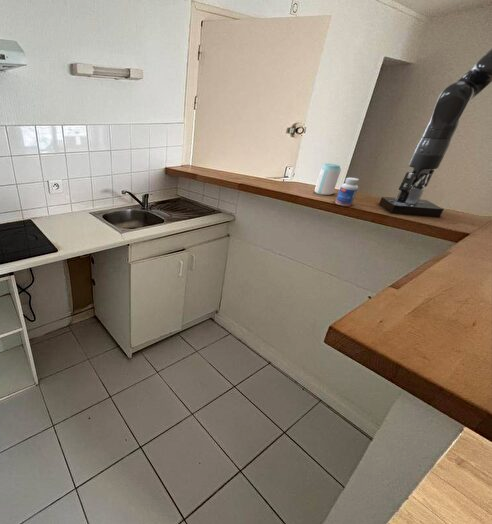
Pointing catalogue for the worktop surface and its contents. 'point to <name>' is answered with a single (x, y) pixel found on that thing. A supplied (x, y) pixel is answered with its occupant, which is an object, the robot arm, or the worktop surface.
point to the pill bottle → (347, 192)
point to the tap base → (411, 207)
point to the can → (327, 179)
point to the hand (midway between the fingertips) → (406, 200)
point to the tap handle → (413, 196)
